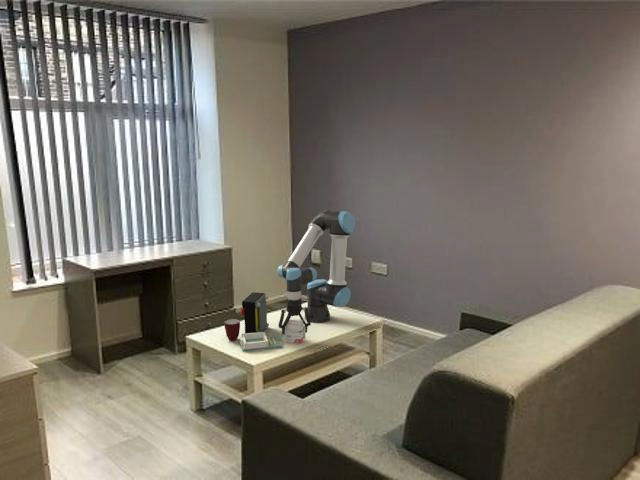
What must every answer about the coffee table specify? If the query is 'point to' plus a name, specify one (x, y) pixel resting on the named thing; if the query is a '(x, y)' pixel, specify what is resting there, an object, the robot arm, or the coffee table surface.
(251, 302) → the electrical component
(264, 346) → the board
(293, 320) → the ink box
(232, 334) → the mug
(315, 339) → the coffee table surface
